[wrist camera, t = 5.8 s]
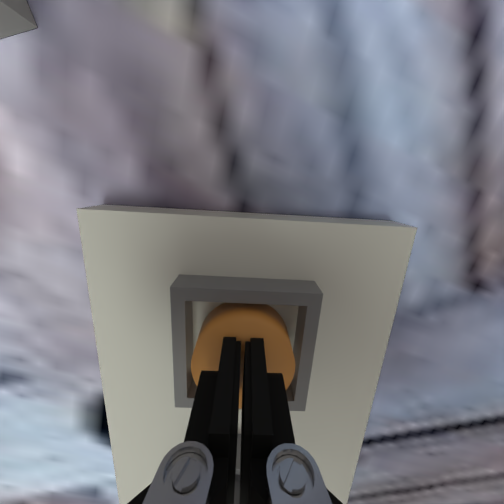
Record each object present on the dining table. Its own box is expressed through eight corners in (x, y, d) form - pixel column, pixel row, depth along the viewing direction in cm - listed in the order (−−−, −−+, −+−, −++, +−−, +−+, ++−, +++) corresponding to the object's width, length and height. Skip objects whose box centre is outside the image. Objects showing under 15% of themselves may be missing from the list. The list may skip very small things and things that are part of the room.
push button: (292, 300, 12) (300, 324, 10) (283, 375, 13) (289, 410, 11) (199, 296, 11) (189, 320, 9) (200, 372, 13) (191, 407, 11)
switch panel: (391, 220, 13) (449, 236, 9) (316, 559, 21) (330, 638, 18) (103, 204, 12) (42, 214, 9) (143, 557, 21) (121, 638, 17)
